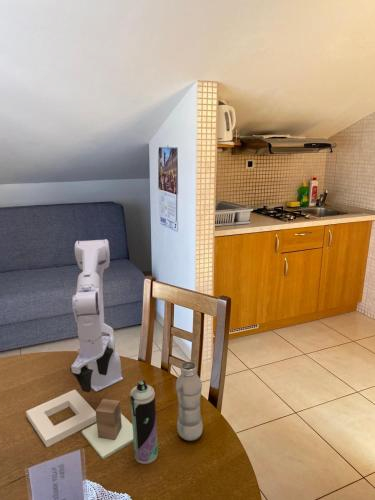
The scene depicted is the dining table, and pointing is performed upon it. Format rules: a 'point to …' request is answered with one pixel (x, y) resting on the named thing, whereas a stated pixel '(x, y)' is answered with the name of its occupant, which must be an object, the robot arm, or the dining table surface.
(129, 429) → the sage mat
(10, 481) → the dining table surface
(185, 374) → the plastic bottle
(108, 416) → the walnut block
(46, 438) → the socket board
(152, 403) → the spray can
